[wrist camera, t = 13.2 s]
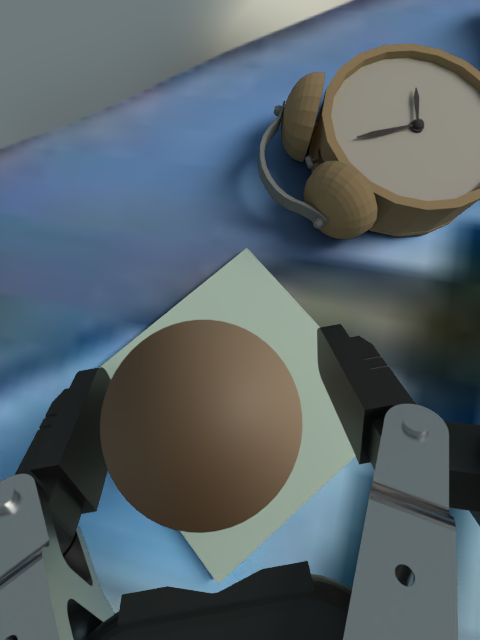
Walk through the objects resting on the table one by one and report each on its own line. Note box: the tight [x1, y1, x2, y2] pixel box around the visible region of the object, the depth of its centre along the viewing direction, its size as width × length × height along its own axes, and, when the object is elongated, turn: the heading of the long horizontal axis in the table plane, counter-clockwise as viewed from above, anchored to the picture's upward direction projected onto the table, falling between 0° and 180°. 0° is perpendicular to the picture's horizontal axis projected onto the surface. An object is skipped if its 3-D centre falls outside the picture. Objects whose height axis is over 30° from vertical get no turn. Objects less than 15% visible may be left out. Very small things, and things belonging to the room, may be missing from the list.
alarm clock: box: [258, 44, 480, 239], centre depth 20 cm, size 11×5×15 cm
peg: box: [100, 320, 303, 533], centre depth 12 cm, size 4×4×12 cm
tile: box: [99, 248, 356, 584], centre depth 18 cm, size 13×13×1 cm
